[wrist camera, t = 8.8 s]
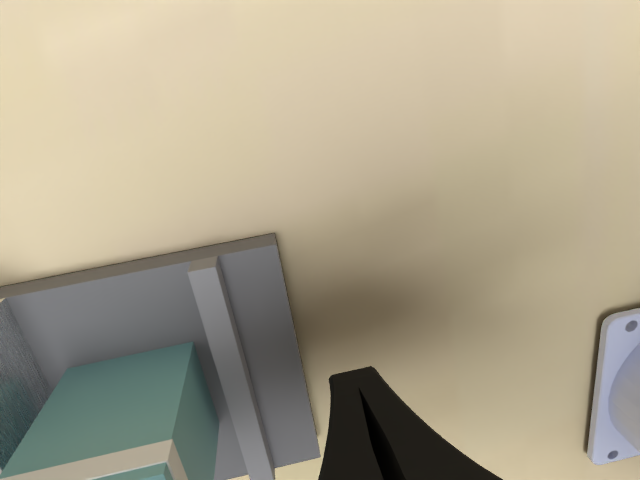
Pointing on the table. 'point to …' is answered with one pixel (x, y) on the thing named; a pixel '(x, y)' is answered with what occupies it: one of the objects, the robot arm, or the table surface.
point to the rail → (17, 384)
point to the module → (124, 422)
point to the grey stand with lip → (189, 339)
